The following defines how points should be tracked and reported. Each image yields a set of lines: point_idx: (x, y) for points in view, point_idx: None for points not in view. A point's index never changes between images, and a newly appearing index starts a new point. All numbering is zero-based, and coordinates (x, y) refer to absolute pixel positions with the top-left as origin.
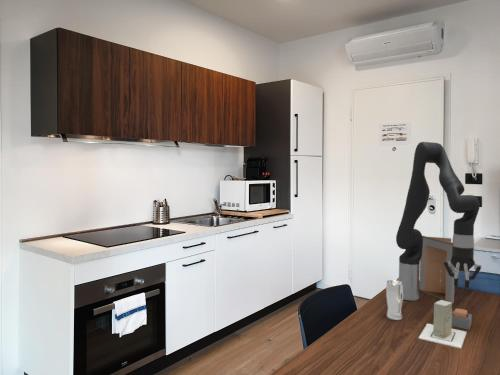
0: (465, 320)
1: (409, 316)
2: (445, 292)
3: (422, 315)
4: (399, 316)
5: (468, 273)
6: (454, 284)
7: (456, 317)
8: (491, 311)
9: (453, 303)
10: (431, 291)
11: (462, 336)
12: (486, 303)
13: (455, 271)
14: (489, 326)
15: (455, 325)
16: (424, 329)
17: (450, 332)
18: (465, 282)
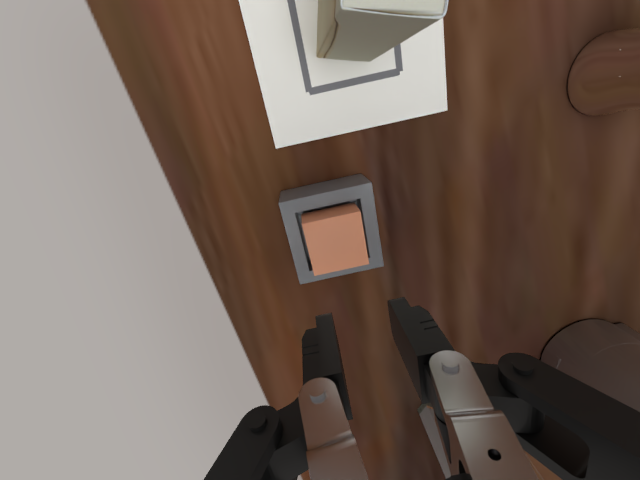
0: (297, 197)
1: (538, 147)
2: None
3: (489, 206)
4: (590, 58)
5: (311, 470)
6: (425, 313)
7: (339, 189)
8: None
9: (418, 408)
10: None
11: (267, 69)
12: None
13: (502, 425)
14: (239, 290)
15: (336, 179)
16: None
17: (317, 40)
18: (333, 355)
